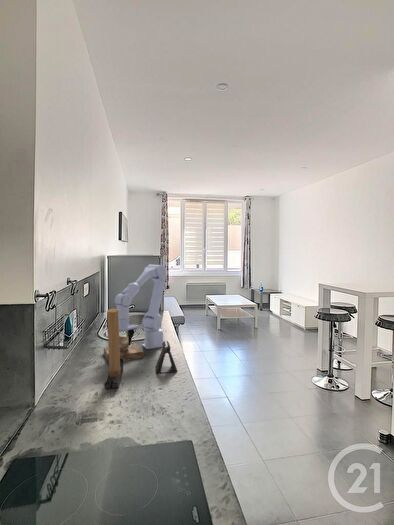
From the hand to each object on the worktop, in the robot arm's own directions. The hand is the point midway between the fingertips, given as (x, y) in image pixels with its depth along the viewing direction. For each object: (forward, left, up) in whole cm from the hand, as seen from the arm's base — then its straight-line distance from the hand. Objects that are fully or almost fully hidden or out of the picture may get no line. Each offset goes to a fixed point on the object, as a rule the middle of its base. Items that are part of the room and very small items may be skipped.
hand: (123, 345), depth 148 cm
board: (0, 0, -5) cm, 5 cm away
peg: (0, 0, -3) cm, 3 cm away
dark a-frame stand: (-12, +26, -5) cm, 29 cm away
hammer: (+10, +26, -5) cm, 28 cm away
